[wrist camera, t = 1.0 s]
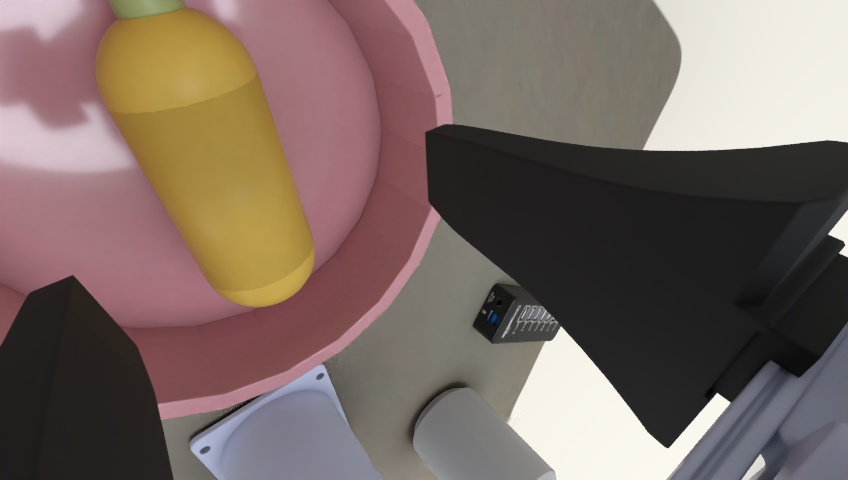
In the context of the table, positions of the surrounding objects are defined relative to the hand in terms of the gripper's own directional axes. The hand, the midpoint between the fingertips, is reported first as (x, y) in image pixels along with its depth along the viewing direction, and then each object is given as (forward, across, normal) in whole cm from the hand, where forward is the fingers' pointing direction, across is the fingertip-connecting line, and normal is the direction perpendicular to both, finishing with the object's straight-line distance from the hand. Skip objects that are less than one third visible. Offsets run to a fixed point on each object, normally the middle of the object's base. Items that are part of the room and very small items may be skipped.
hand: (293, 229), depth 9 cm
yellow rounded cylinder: (+10, 0, +3) cm, 10 cm away
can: (+8, -9, +33) cm, 35 cm away
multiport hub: (+8, -19, +26) cm, 33 cm away
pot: (+10, 0, +3) cm, 11 cm away
